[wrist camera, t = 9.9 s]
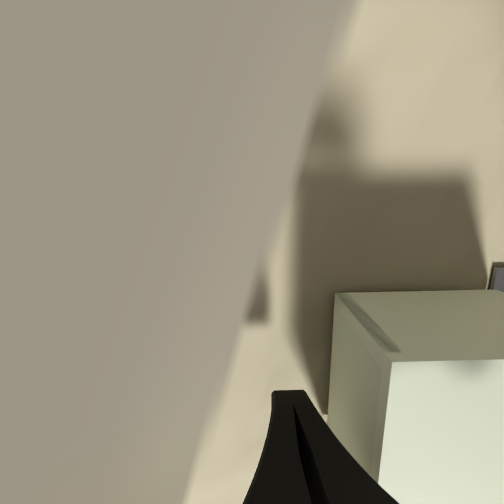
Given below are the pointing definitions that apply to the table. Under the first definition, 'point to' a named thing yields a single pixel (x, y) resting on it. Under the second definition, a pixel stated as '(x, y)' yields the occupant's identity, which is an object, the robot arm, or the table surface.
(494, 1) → the table surface
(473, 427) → the block
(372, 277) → the table surface
